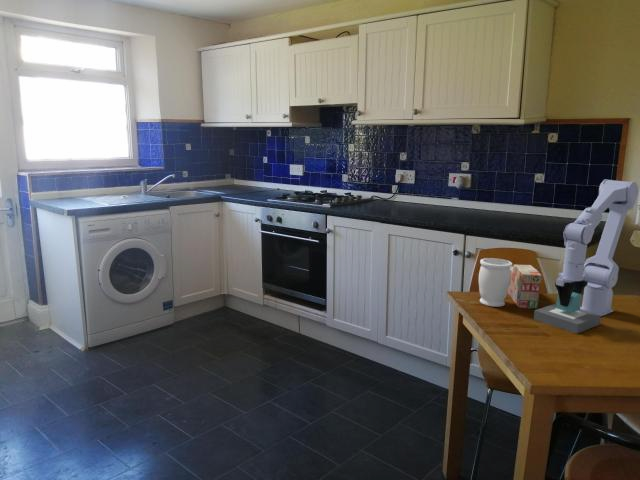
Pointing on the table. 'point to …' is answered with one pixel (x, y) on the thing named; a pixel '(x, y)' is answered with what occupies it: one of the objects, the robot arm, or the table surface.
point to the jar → (494, 281)
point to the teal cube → (571, 303)
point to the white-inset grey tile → (567, 318)
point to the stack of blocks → (524, 286)
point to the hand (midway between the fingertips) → (568, 304)
